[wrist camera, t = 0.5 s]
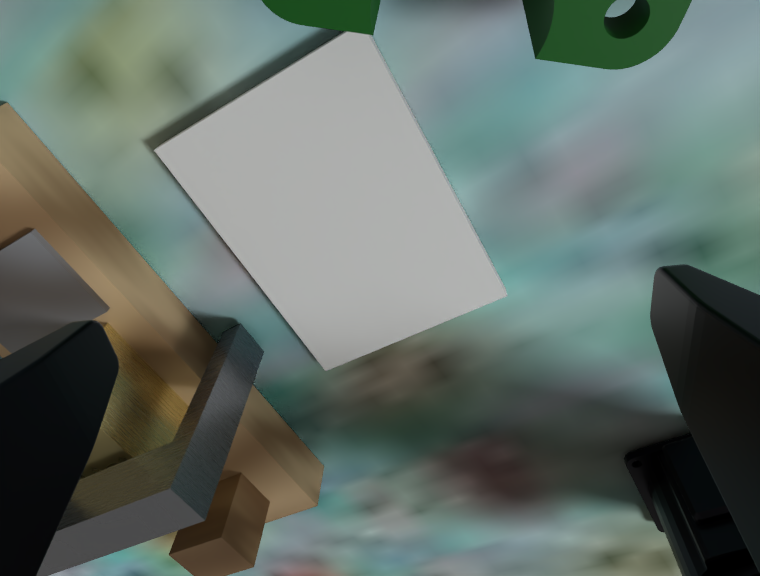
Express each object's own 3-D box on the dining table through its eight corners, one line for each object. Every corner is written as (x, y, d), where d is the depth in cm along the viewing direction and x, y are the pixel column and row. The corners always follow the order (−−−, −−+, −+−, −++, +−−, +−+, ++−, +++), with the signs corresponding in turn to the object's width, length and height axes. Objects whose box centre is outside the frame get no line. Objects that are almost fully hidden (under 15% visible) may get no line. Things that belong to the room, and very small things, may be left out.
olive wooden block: (213, 432, 27) (185, 506, 24) (148, 458, 28) (112, 532, 25) (108, 322, 24) (57, 389, 21) (39, 357, 25) (-19, 425, 22)
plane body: (323, 466, 32) (306, 571, 27) (221, 503, 34) (186, 606, 29) (7, 102, 22) (-116, 159, 17) (-109, 186, 24) (-250, 259, 19)
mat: (505, 288, 25) (507, 295, 25) (327, 362, 28) (325, 371, 27) (363, 20, 20) (361, 22, 19) (159, 144, 22) (154, 150, 22)
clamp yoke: (264, 351, 27) (205, 520, 20) (95, 426, 30) (-12, 596, 23) (240, 323, 26) (170, 488, 19) (69, 403, 30) (-50, 571, 22)
